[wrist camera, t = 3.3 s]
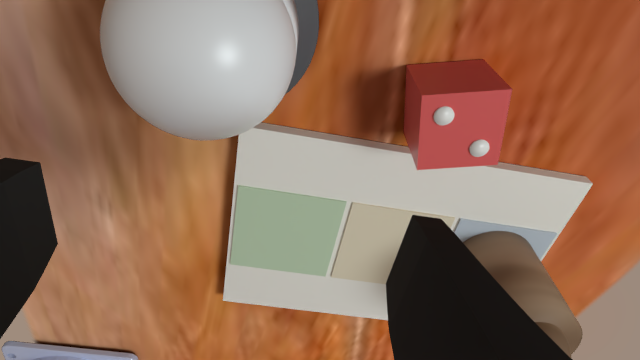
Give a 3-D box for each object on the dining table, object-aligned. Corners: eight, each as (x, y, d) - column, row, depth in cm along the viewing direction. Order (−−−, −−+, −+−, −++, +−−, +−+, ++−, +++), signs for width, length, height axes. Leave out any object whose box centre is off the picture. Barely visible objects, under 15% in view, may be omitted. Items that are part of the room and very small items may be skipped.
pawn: (509, 297, 24) (567, 417, 18) (433, 287, 23) (470, 407, 18) (549, 238, 21) (629, 355, 16) (465, 224, 21) (519, 341, 15)
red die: (473, 127, 19) (498, 166, 16) (403, 132, 19) (417, 171, 16) (483, 59, 17) (513, 90, 14) (406, 64, 17) (422, 96, 14)
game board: (490, 324, 26) (494, 334, 26) (224, 292, 24) (222, 302, 24) (586, 176, 20) (594, 185, 19) (241, 119, 18) (239, 126, 18)
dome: (287, 107, 17) (276, 189, 13) (143, 83, 17) (76, 159, 12) (312, -48, 14) (310, -15, 9) (136, -85, 13) (41, -70, 9)
